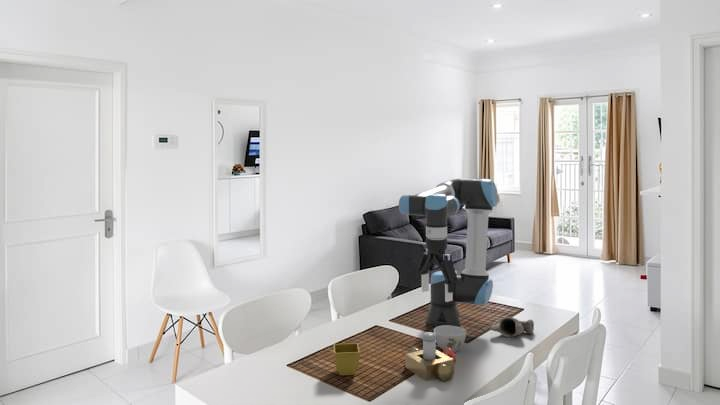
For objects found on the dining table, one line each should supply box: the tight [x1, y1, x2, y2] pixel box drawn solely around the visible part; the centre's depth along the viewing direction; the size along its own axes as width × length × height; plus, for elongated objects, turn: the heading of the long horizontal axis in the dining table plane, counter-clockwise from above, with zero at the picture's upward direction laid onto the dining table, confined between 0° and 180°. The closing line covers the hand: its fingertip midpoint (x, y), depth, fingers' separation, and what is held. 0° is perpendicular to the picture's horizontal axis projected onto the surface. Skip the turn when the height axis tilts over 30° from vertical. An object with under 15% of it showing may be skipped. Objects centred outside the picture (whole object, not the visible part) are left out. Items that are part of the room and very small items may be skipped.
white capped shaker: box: [421, 331, 437, 362], centre depth 181 cm, size 5×5×12 cm
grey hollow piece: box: [490, 316, 535, 338], centre depth 215 cm, size 16×9×15 cm
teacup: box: [433, 325, 468, 353], centre depth 199 cm, size 15×12×8 cm
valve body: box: [404, 346, 457, 382], centre depth 182 cm, size 20×15×6 cm
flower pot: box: [332, 342, 361, 376], centre depth 179 cm, size 9×9×9 cm
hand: (436, 296), depth 185 cm, fingers open, 13 cm apart
